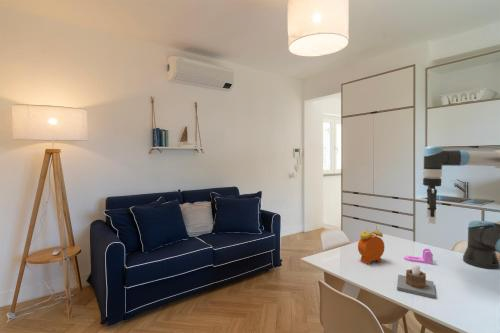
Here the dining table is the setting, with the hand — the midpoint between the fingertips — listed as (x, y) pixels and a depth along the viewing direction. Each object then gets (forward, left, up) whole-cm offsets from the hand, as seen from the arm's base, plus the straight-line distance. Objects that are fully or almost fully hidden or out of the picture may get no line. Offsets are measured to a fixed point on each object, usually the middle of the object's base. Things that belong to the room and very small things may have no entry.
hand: (430, 220), depth 136 cm
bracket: (+5, -15, -27) cm, 31 cm away
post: (+6, +21, -27) cm, 34 cm away
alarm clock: (+27, -1, -27) cm, 38 cm away
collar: (+6, +21, -25) cm, 33 cm away
